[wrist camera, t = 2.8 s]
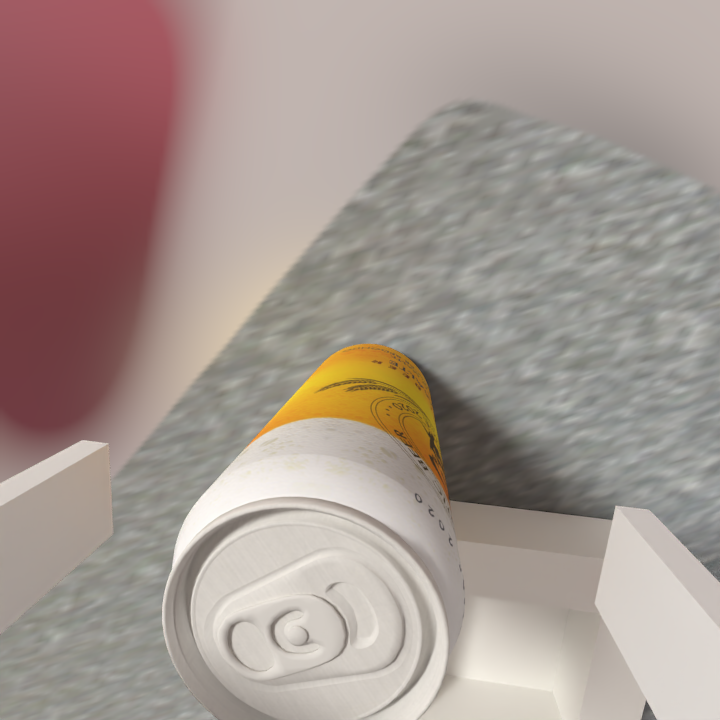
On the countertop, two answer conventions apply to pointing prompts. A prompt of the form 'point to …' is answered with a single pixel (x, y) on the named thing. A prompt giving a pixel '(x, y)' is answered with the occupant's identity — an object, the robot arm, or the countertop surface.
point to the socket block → (533, 622)
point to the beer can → (324, 557)
